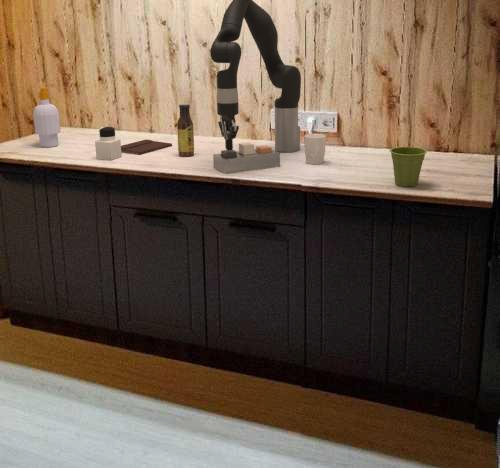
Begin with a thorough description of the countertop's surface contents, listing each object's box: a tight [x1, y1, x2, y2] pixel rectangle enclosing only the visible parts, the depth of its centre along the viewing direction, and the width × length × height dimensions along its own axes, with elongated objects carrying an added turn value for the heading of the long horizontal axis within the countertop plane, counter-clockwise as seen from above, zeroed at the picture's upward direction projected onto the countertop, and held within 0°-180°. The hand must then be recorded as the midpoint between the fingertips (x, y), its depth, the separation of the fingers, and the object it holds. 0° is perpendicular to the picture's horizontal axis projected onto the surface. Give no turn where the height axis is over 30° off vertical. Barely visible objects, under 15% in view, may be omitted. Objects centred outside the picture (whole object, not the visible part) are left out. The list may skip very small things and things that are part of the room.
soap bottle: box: [32, 86, 61, 148], centre depth 305 cm, size 10×10×24 cm
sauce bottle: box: [176, 103, 195, 157], centre depth 284 cm, size 6×6×20 cm
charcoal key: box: [220, 149, 237, 158], centre depth 261 cm, size 4×4×4 cm
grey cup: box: [303, 133, 327, 165], centre depth 269 cm, size 8×8×10 cm
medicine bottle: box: [94, 126, 123, 161], centre depth 283 cm, size 7×7×12 cm
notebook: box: [121, 138, 173, 156], centre depth 300 cm, size 15×20×2 cm
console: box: [212, 148, 281, 174], centre depth 265 cm, size 22×10×5 cm, turn 116°
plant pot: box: [389, 146, 428, 187], centre depth 237 cm, size 12×12×11 cm
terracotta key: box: [255, 145, 273, 153], centre depth 267 cm, size 4×4×4 cm
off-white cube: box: [238, 142, 255, 155], centre depth 264 cm, size 4×4×4 cm
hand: (229, 149), depth 261 cm, fingers closed
